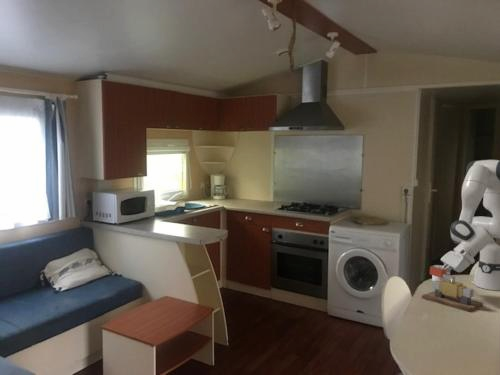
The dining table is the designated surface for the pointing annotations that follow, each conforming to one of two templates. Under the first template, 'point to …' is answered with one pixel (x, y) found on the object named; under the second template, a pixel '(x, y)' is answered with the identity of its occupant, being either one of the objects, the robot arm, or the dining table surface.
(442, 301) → the board
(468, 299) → the valve
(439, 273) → the lever
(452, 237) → the robot arm
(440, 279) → the cup
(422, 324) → the dining table surface
